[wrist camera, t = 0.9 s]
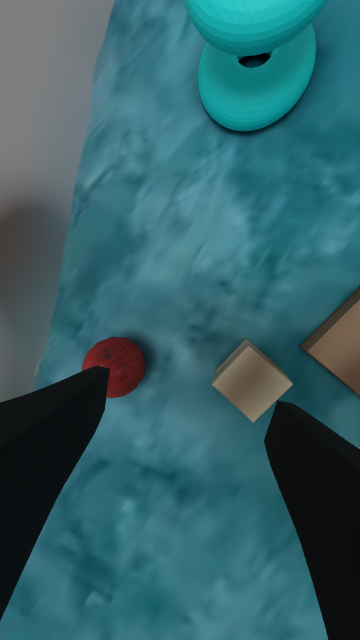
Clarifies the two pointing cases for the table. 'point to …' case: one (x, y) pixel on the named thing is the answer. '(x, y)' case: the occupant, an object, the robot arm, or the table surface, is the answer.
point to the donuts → (252, 39)
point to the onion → (118, 364)
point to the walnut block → (339, 343)
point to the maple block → (250, 380)
